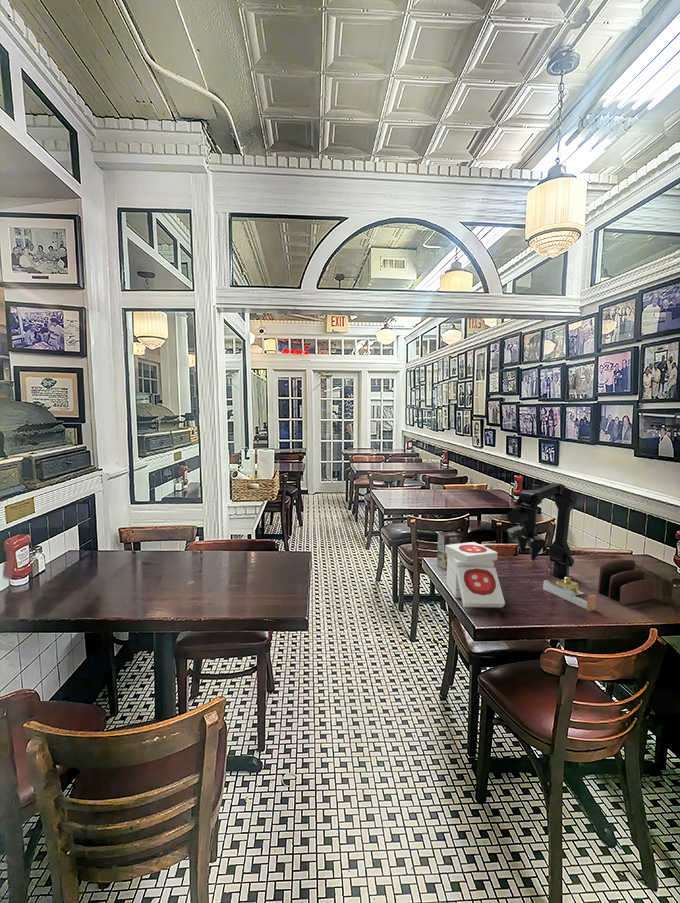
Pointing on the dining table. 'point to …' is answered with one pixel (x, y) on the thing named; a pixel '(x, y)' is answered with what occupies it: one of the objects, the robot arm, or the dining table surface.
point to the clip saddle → (568, 584)
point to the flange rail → (570, 595)
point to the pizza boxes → (473, 575)
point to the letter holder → (624, 583)
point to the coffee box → (443, 540)
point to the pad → (578, 593)
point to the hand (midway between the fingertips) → (527, 556)
